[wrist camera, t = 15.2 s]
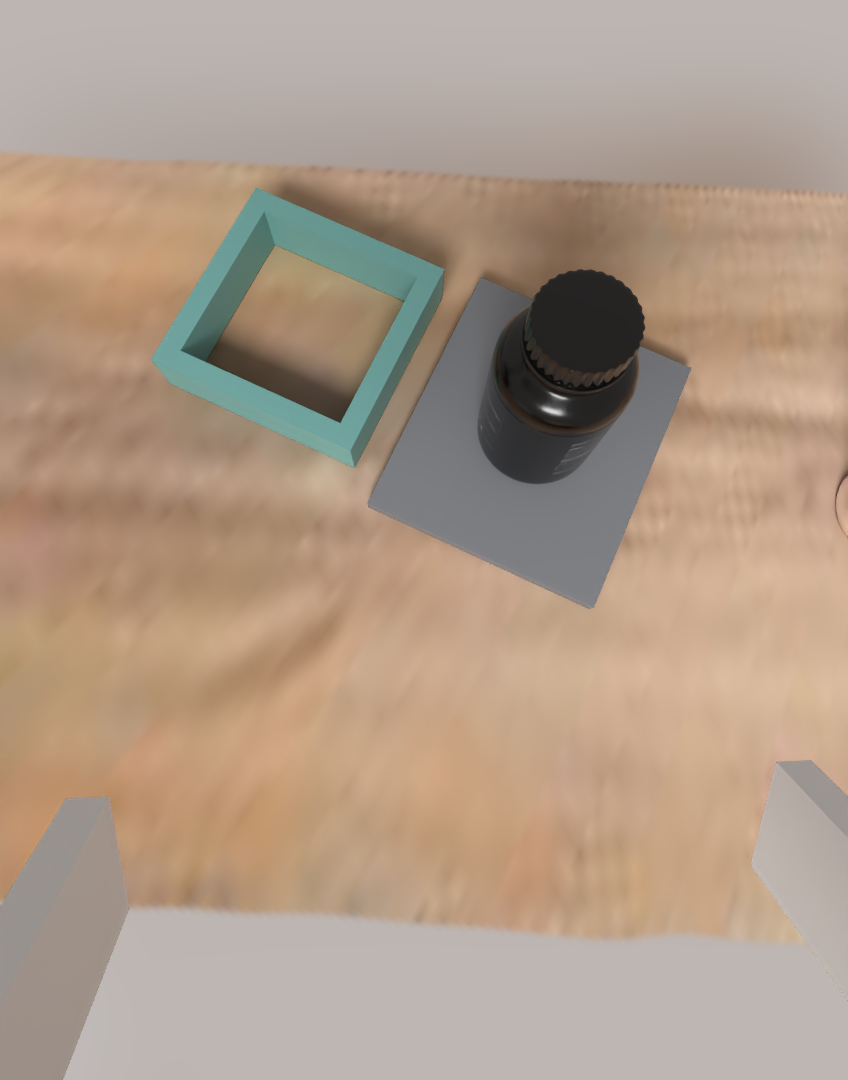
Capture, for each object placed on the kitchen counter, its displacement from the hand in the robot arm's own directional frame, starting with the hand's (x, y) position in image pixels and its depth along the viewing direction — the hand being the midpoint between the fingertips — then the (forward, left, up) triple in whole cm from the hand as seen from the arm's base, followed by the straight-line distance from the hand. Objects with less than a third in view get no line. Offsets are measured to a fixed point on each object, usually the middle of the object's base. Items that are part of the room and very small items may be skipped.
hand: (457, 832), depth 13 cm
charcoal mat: (-1, +18, -22) cm, 29 cm away
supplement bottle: (-1, +18, -22) cm, 28 cm away
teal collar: (-16, +18, -22) cm, 33 cm away
